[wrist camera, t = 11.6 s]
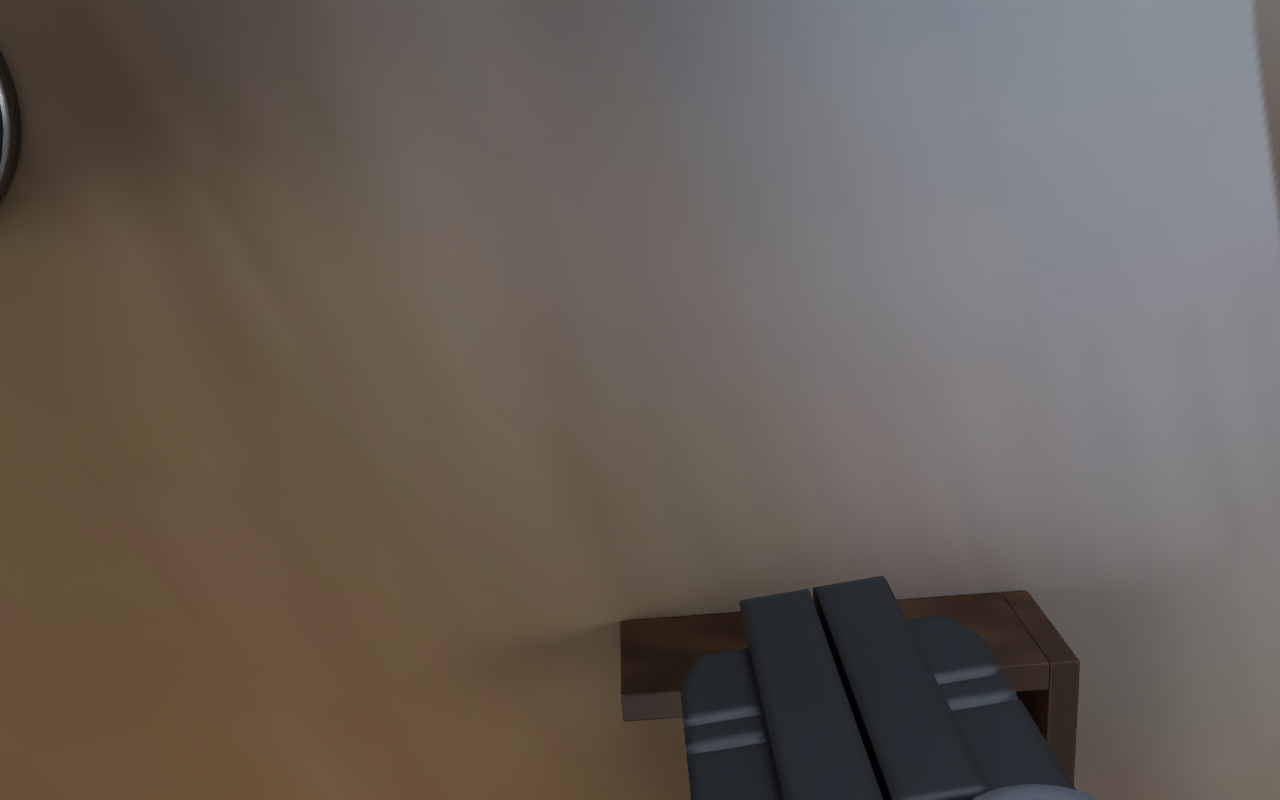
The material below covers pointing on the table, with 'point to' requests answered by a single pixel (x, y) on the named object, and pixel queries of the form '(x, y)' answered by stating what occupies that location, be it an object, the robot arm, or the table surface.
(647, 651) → the dark brown tray
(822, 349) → the table surface
